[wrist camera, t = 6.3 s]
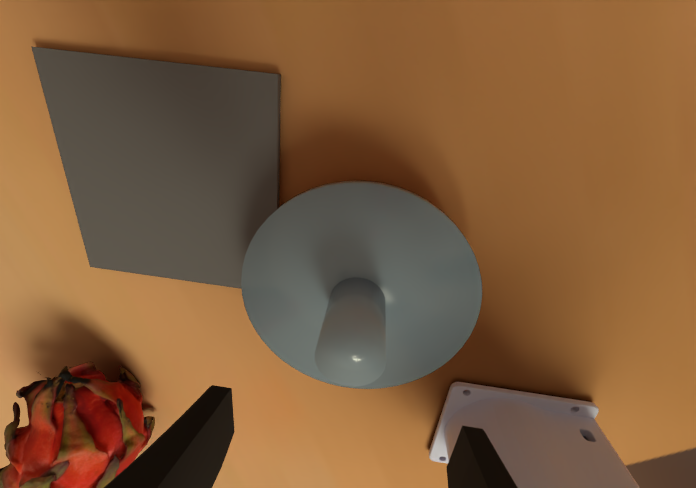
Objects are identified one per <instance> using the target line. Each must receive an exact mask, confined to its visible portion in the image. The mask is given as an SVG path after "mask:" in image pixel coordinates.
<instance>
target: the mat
mask: <svg viewBox="0 0 696 488" xmlns="http://www.w3.org/2000/svg"><path fill="white" fill-rule="evenodd" d="M32 51H33V54H34V58H35V62H36V66H37V69H38V73H39V77H40V81H41V84H42V88H43V92H44V96H45V99H46V103H47V107H48V111H49V114H50V118H51V122H52V126H53V129H54V133H55V137H56V141H57V144H58V148H59V152H60V156H61V159H62V163H63V167H64V171H65V174H66V178H67V182H68V186H69V189H70V193H71V197H72V200H73V204H74V208H75V212H76V215H77V219H78V223H79V227H80V230H81V234H82V238H83V242H84V245H85V249H86V253H87V257H88V260H89V264H90V267H95V268H102V269H109V270H116V271H123V272H130V273H137V274H144V275H151V276H158V277H165V278H171V279H178V280H185V281H192V282H199V283H206V284H213V285H220V286H227V287H234V288H241V289H242V286H241V277H242V267H243V262H244V258H245V254H246V252H247V249H248V247H249V244H250V242H251V240H252V239H253V237H254V235H255V234H256V232H257V230H258V229H259V228H260V227H261V225H262V224H263V223H264V222H265V221H266V220H267V218H268V217H269V216H270V215H271V214H272V213H273V212H275V211H276V210H277V209H278V208H279V167H280V92H281V75H280V74H273V73H264V72H255V71H246V70H237V69H228V68H219V67H210V66H201V65H192V64H183V63H174V62H165V61H156V60H147V59H138V58H129V57H120V56H111V55H102V54H93V53H84V52H75V51H66V50H57V49H48V48H39V47H32Z"/></svg>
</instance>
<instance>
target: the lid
mask: <svg viewBox="0 0 696 488" xmlns="http://www.w3.org/2000/svg"><path fill="white" fill-rule="evenodd" d="M241 286H242V296H243V300H244V305H245V308H246V311H247V314H248V316H249V319H250V321H251V323H252V325H253V326H254V328H255V330H256V332H257V333H258V335H259V336H260V337H261V339H262V340H263V341H264V343H265V344H266V345H267V346H268V347H269V348H270V349H271V350H272V351H273V352H274V353H275V354H276V355H277V356H278V357H279V358H280V359H282V360H283V361H284V362H286V363H287V364H289V365H290V366H291V367H293V368H295V369H296V370H298V371H300V372H302V373H303V374H306V375H308V376H310V377H312V378H314V379H317V380H320V381H323V382H326V383H329V384H333V385H338V386H342V387H349V388H360V389H375V388H386V387H393V386H398V385H401V384H405V383H409V382H412V381H414V380H417V379H420V378H422V377H424V376H426V375H428V374H430V373H432V372H434V371H435V370H437V369H438V368H440V367H441V366H443V365H444V364H445V363H446V362H448V361H449V360H450V359H451V358H452V357H453V356H454V355H455V354H456V353H457V352H458V351H459V350H460V349H461V348H462V347H463V345H464V344H465V342H466V341H467V339H468V338H469V336H470V335H471V333H472V331H473V329H474V327H475V324H476V322H477V319H478V316H479V312H480V308H481V301H482V281H481V275H480V270H479V266H478V263H477V261H476V258H475V255H474V253H473V251H472V249H471V247H470V245H469V244H468V242H467V240H466V238H465V237H464V235H463V234H462V232H461V231H460V230H459V228H458V227H457V226H456V224H455V223H454V222H453V221H452V220H451V219H450V218H449V217H448V216H447V215H446V214H445V213H444V212H443V211H442V210H440V209H439V208H438V207H436V206H435V205H434V204H432V203H431V202H429V201H428V200H426V199H424V198H422V197H421V196H419V195H417V194H415V193H413V192H410V191H408V190H405V189H402V188H400V187H397V186H393V185H389V184H385V183H380V182H372V181H362V180H361V181H341V182H335V183H329V184H325V185H321V186H318V187H315V188H312V189H309V190H307V191H305V192H303V193H301V194H298V195H296V196H295V197H293V198H292V199H290V200H289V201H287V202H285V203H284V204H283V205H281V206H280V207H279V208H278V209H277V210H276V211H275V212H273V213H272V214H271V215H270V216H269V217H268V218H267V220H266V221H265V222H264V223H263V224H262V225H261V227H260V228H259V229H258V230H257V232H256V234H255V235H254V237H253V239H252V240H251V242H250V244H249V247H248V249H247V252H246V254H245V258H244V262H243V267H242V277H241Z"/></svg>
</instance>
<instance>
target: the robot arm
mask: <svg viewBox="0 0 696 488" xmlns="http://www.w3.org/2000/svg"><path fill="white" fill-rule="evenodd" d="M464 390H467V391H464ZM598 411H599V410H598V408H597V406H596V405H595V404H594V403H592V402H588V401H581V400H574V399H568V398H561V397H555V396H548V395H542V394H535V393H529V392H522V391H516V390H509V389H503V388H496V387H490V386H483V385H477V384H470V383H464V382H454V383H453V384H451V386H450V389H449V392H448V395H447V398H446V401H445V404H444V407H443V410H442V413H441V416H440V419H439V423H438V426H437V429H436V432H435V435H434V438H433V441H432V444H431V447H430V450H429V458H430V459H431V460H432V461H436V462H442V463H448V465H447V476H448V488H640V487H639V486H638V484H637V483H636V481H635V480H634V479H633V477H632V475H631V474H630V472H629V471H628V469H627V468H626V466H625V465H624V463H623V462H622V460H621V459H620V457H619V456H618V454H617V453H616V451H615V450H614V448H613V447H612V445H611V444H610V442H609V441H608V439H607V438H606V436H605V435H604V433H603V432H602V430H601V429H600V427H599V426H598V424H597V423H596V421H595V420H594V418H595V417H596V415H597V414H598ZM233 434H234V420H233V405H232V390H231V388H226V387H220V386H213V385H212V386H211V387H209V388H208V389H207V390H206V392H205V393H204V394H203V395H202V396H201V397H200V398H199V399H198V400H197V401H196V402H195V403H194V404H193V405H192V406H191V407H190V408H189V409H188V410H187V411H186V412H185V413H184V414H183V415H182V416H181V417H180V418H179V419H178V420H177V421H176V422H175V423H174V424H173V425H172V426H171V427H170V428H169V429H168V430H167V431H166V432H165V433H163V434H162V435H161V436H160V437H159V438H158V439H157V440H156V441H155V442H154V443H153V444H152V445H151V446H150V447H149V448H148V449H147V450H146V451H144V452H143V453H142V454H141V455H140V456H139V457H138V458H137V459H136V460H134V461H133V462H132V463H131V464H130V465H129V466H128V467H127V468H125V469H124V470H123V471H122V472H121V473H120V474H119V475H117V476H116V477H115V478H114V479H113V480H112V481H111V482H110V483H108V484H107V485H106V486H105V487H104V488H212V486H213V484H214V482H215V480H216V478H217V475H218V473H219V471H220V469H221V467H222V464H223V461H224V459H225V456H226V453H227V451H228V448H229V445H230V442H231V439H232V437H233Z"/></svg>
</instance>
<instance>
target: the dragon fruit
mask: <svg viewBox="0 0 696 488" xmlns="http://www.w3.org/2000/svg"><path fill="white" fill-rule="evenodd" d="M119 368H120V371H121V375H120V377H119V380H118V381H117V382H109V381H107V380H106V377H105V375H104V374H103V373H102V372H101V371H99V370H96V369H95V366H94V364H93V362H89V363H85V364H81V365H78V366H75V367H70V368H69V369H68V368H67V366H66V367H65V368H64V369H63V370H62V371H61V373H60V374H59V376H58V377H56V378H55V377H54V378H53V379H52V380H51V378H47V380H41V381H35V382H33V383H31V384H30V385H29V386H26V387H23V388H21V389H20V390H19V391H17V393H16V396H18V397H19V398H22V397H24V398H25V400H26V402H27V408H28V417H29V425H28V426H25V427H20V428H17V427H18V425H19V422H20V419H19V417H20V408H19V405H18V404H17V403H16V402H15V403H14V405H13V411H14V421H13V422H11V423H10V424H9V425H7V426H6V429H5V432H4V436H5V449H6V456H7V458H8V459H9V461H10V464H9V465H8V466H6V467H4V468H1V469H0V488H104V487H105V486H106V485H107V484H108V483H110V482H111V481H112V480H113V479H114V478H115V477H116V476H117V475H119V474H120V473H121V472H122V471H123V470H124V469H125V468H127V467H128V466H129V465H130V464H131V463H132V462H133V461H134V460H135V458H136V457H137V455H138V453H139V452H140V451H142V449H143V448H144V447H145V446H146V445H147V443H148V441H149V439H150V437H151V435H152V431H153V429H154V425H155V418H154V417H151V416H147V417H144V416H143V411H142V407H141V403H142V395H141V392H140V390H139V388H140V384H139V382H138V381H137V380H136V379H135V377H134V376H133V375H132V374H131V373H130V372H129V371H127V370H126V369H124V368H123V367H121V366H119ZM38 373H39V372H38ZM40 375H41V374H40ZM64 382H65V383H64ZM152 420H153V421H152Z"/></svg>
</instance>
